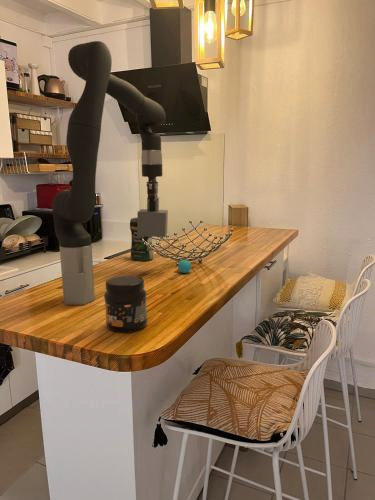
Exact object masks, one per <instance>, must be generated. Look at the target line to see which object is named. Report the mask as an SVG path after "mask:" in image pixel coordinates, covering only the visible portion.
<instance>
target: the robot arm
mask: <svg viewBox="0 0 375 500" xmlns="http://www.w3.org/2000/svg"><path fill="white" fill-rule="evenodd" d="M112 59H113V58H112V54H111V51H110V48H109V47H108V45H107V44H106V43H105V42H103V41H99V40H93V41H89V42H83V43H78V44H77V45H73V46H72V47H70V50H69V51H68V55H67V61H68V65H69V68H70V69H71V71H72V73H73V74H74V75H76V76H77V77H78V78H80V79H82V80H83V81H85V84H84V88H83V91H82V93H81V95H80V98H79V99H78V101H77V102H76V104H75V106H74V107H73V109H72V111H71V114H70V115H69V118H68V123H67V129H66V139H65V140H66V149H67V153H68V156H69V159H70V163H71V166H72V180H71V181H72V182H71V188H70V190H69V189H68V190H67V189H66V190H61V191H59V192H58V193H57V194H56V195H55V196H54V198H53V202H52V216H53V217H52V218H53V225H54V230H55V231H54V232H55V236H56V238H57V240H58V244H59V245H58V246H59V255H60V256H59V257H60V259H59V260H60V270H61V272H60V273H61V283H62V284H61V285H62V294H63V302H64V305H65V306H66V305H67V306H71V305H72V306H73V305H77V306H82V305H83V306H85V305H87V304H89V303H91V302H94V300H95V299H96V295H95V294H96V293H95V281H94V280H95V279H94V267H93V266H94V264H93V246H92V235H91V234H90V233H88V231H86V230H85V228H84V226H83V224H85V223H88V222H89V221H90V220H91V219H92V217H93V216H94V212H95V209H96V208H95V207H96V174H97V163H98V157H99V156H98V154H99V147H100V141H101V140H100V139H101V132H102V121H103V119H102V118H103V114H104V108H105V107H104V106H105V99H106V94H107V95H109V96H110V97H111V98H113V99H114V100H116V102H118V103H119V104H120V105H122V106H123V107H124V108H125V109H127V110H128V111H129V112H130V113H131V114H133V115H135V122H136V124H137V128H138V131H139V135H140V138H141V139H140V140H141V154H140V155H141V158H140V159H141V162H140V163H141V176H142V177H144V178H148V179H147V180H148V181H146V189H147V190H146V193H147V198H148V200H149V210H150V211H155V210H156V207H155V200H156V197H159V196H158V193H159V188H158V187H159V181H157V178H158V177H160V178H161V177H163V154H162V137H161V135H160V134H159V133H155V132H153V131H152V129H151V127H158V126H161V125H163V124H164V123H165V122H166V117H167V116H166V111H165V109H164V108H163V106H162V105H161V104H159V103H158V102H156V101H154V100H152V99H151V98H149V97H146V96H145V95H144V94H143V93H142V92H141V91H140V90H138V89H137V87H135V86H134V85H133V84H131V83H129V82H128V81H126V80H125V79H121V78H119V77H117V76H116V75H114V74H112V73H111V72H112V66H113V65H112V62H113V60H112Z"/></svg>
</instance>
